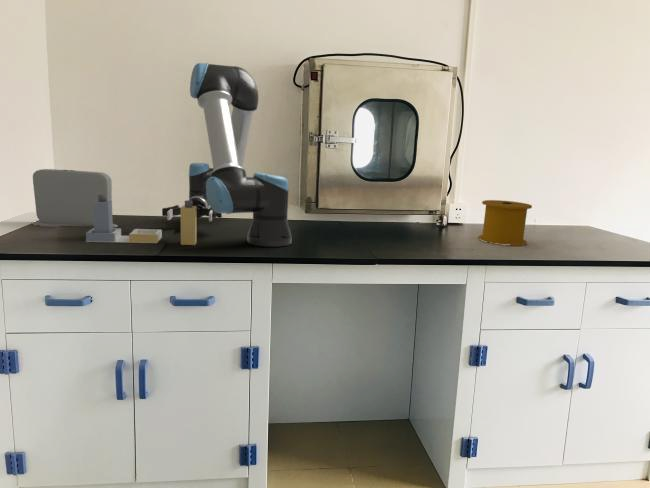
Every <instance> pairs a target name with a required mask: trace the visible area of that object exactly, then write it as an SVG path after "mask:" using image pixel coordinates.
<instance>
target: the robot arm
mask: <svg viewBox="0 0 650 488" xmlns="http://www.w3.org/2000/svg"><path fill="white" fill-rule="evenodd" d="M189 84H190V85H189V93H190V97H191V98H193V99H194V100H196V99H197V104H198V106H199V108H201V109H203V114H204V121H205V125H206V131H207V138H208V144H209V149H210V156H211V162H212V167H213V168H211V167H210V165H209V163H208V162H207V163H205V162H192V163H190V164H189V169H188V171H189V172H188V181H189V183H188V186H189V187H188V189H189V190H188V197H189V198H188V200H190V201H192V206H196V211H197V219H200V218H202V217H205V216H206V217H208V222H212V221H213V219H215V218H219V219H220V218H222V214H227V215H230V214H245V213H246V214H250V213H252V221H251V224H250V227H249V230H248V232H247V237H246V238H247V240H246V241H247V243H248V244H250V245H253V246H256V247H257V246H258V247H268V248H269V247H270V248H276V247H287V246H289V245H291V244H292V239H293V237H292V236H293V235H292V233H291V229H290V225H289V222H288V208H289V192H290V190H289V181H288V179H287V178H286V177H284V176H281V175H275V174H274V175H273V174H268V173H263V172H254V173H253V175H252V176H253V177H252V176H247V172H246V169H245V168H244V167H243V164H244V160H245V155H246V151H247V146H248V139H249V134H250V130H251V126H252V121H253V115H254V112H255V111H257V110H258V105H259V90H258V86H257V84H256V81H255V79H254V78H253V76H252V75H251V74H250V72H248V71H247V70H246V69H244V68H243V67H241V66H236V65H235V66H232V65H223V64H222V65H221V64H213V63H209V62H206V63H204V62H202V63H201V62H199V63H196V64H195V65H194V66H193V69H192V71H191V77H190V82H189ZM230 105H231V106H232V110H230ZM231 111H232V112H231ZM181 207H182V206H180V205H178V204H176V205H174V206H168V207H163V208H161V212H162V213H161V215H162V217H166V218H167V221H171V219H172V218H173V217H174V216H181Z"/></svg>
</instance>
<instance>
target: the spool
mask: <svg viewBox="0 0 650 488" xmlns="http://www.w3.org/2000/svg"><path fill="white" fill-rule="evenodd" d="M481 202H482V203H481V204H482V205H485V209H484V210H485V211H484V217H483V218H484V220H483V226H482V227H483V228H482V234H480V235H478V237H477V239H478V238H479V239H481V240H484V241H487V242H492V243H499V244H510V245H522V244H526V243H527V244H528V242H527V240H525V239H524V236H525V228H526V221H527V215H528V209H529V210H530V209H532V208H533V205H532V204H529V203H525V202H521V201H520V202H519V201H513V200H512V201H511V200H510V201H509V200H502V199H501V200H500V199H497V200H496V199H488V200H487V199H486V200H482V201H481ZM479 239H478V240H479ZM527 244H526V245H527Z"/></svg>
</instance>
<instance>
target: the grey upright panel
mask: <svg viewBox="0 0 650 488" xmlns="http://www.w3.org/2000/svg"><path fill="white" fill-rule="evenodd" d="M112 181H113V180H112V178H111V176H110V175H109V174H107V173H105V172H101V171H99V172H98V171H87V170H74V169H70V170H69V169H56V168H55V169H53V168H44V169H38V170H36V171H34V173H33V174H32V184H33V194H34V196H33V197H34V204H35V212H36V214H35V215H36V217H37V219H38V220H35V221H36V222H33V221H32V222H33V223H32V222H31V225H32V224H33V226H36V225H40V227H50V228H51V227H53V228H58V227H61V226H65V227H66V226H67V227H70V226H72V227H94V213H93V202H94V201H96V200H98V195H106V196H107V200H110V201H112V200H113V199H112V198H113V194H112V189H113V186H112V183H113V182H112ZM112 202H113V201H112ZM117 227H118V224H115V223H113V228H117ZM118 228H119V227H118Z"/></svg>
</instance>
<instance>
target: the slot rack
mask: <svg viewBox="0 0 650 488" xmlns="http://www.w3.org/2000/svg"><path fill="white" fill-rule="evenodd" d="M162 233H163V230H162V229H153V228H151V229H149V228H148V229H147V228H143V229H142V228H134V229H133V230H132V231H130V232H129V234H128V235H122V228H117V227H113V232H112V233H94V227H93V228H91V229H89V230H88V231H86V232H85V243H89V242H90V243H91V242H93V243H94V242H95V243H128V244H129V243H133V244H135V243H136V244H138V243H139V244H157V243H158V242H159V241H161V239H162V238H163V235H162Z"/></svg>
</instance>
